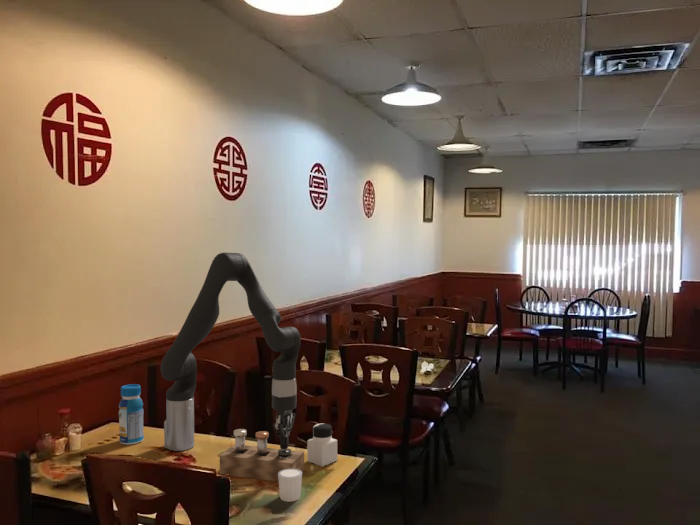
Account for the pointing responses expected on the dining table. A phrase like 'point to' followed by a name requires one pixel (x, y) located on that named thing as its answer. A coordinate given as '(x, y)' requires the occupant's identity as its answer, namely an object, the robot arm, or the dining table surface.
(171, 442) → the robot arm
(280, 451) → the grey capped glass jar
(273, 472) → the walnut block
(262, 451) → the copper-capped glass cylinder
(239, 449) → the cream plunger
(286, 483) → the white cup
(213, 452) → the dining table surface
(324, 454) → the medicine bottle
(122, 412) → the beverage bottle
